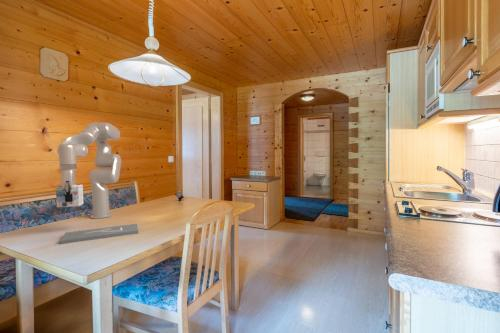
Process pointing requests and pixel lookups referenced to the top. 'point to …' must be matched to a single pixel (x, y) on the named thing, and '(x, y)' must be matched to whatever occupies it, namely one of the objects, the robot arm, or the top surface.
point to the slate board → (99, 233)
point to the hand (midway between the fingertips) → (70, 200)
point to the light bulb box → (76, 193)
